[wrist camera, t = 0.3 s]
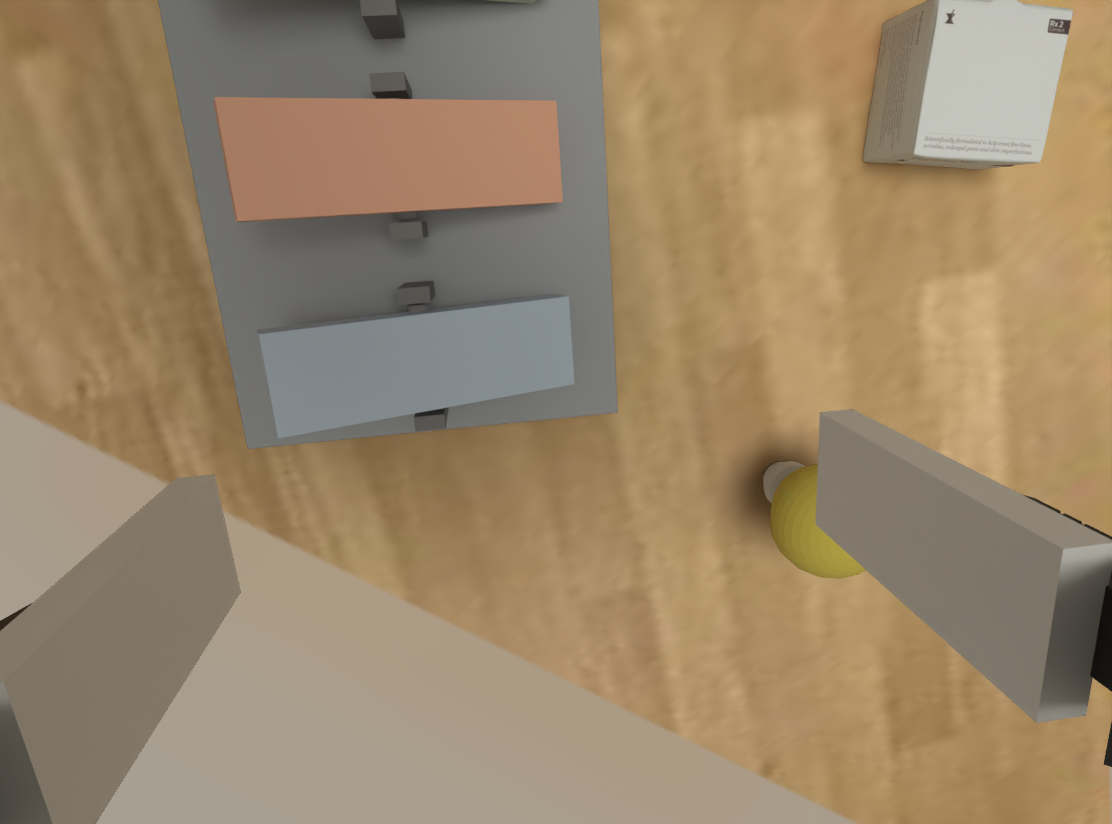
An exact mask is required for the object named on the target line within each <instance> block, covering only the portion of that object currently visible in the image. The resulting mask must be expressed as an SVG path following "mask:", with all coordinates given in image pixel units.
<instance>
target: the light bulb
mask: <svg viewBox="0 0 1112 824" xmlns="http://www.w3.org/2000/svg"><path fill="white" fill-rule="evenodd" d="M817 473H818V464H815V465H811V466H806V467H805V466H804V465H802V464H800V463H798V462H793V461H787V462H777V463H774V464H772V465H771V466H770V467H769V468H768V469H767V470H766V471H765V473H764V476H763V485H764V493H765V495H766V497H767V499H768V500H769V501H770V502H771V503H772V505H771V515H770V523H771V532H772V537H773V539H774V541H775V543H776V545H777V547H778V548H779V550H780V552H781V553H782V554H783V555H784V556H785V557H786V558H787V559H788V560H790V561H791V562H792V563H793V564H794V565H795V566H796V567H798V568H799V569H801V570H803V571H806V572H808V573H811V574H813V575H816V576H818V577H823V578H845V577H849V576H854V575H858V574H860V573H861V572H863V571H865V570H866V569H865V568H864V567H862V566H861V565H860V564H859V563H858V562H857V561H856V560H855V559H853V558H852V557H851V556H850V555H849V554H848V553H847V552H846V551H845V550H843V549H842V548H841V547H840V546H839V545H838V544H837V543H836V542H835V541H833V540H832V539H831V538H830V537H829V536H828V535H827V534H826V533H825V532H823V531H822V530H821V529H820V528H819V527H818V526H817V525H816V524H815V523H816V498H817Z"/></svg>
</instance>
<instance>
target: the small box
mask: <svg viewBox="0 0 1112 824" xmlns="http://www.w3.org/2000/svg"><path fill="white" fill-rule="evenodd" d="M1072 15H1073V11H1072V10H1071V9H1067V8H1060V7H1051V6H1042V5H1032V4H1024V3H1021V2H1019V1H1017V0H927V1H925V2H923V3H921V4H919V5H917V6H915V7H913V8H911V9H909V10H907V11H906V12H904V13H902V14H900V15H898V16H896V17H894V18H892V19H890V20H888V21H886V22H884V23H883V27H882V36H881V44H880V51H879V57H878V63H877V69H876V75H875V82H874V88H873V95H872V101H871V107H870V113H869V120H868V126H867V133H866V140H865V146H864V152H863V161H864V162H875V163H894V164H910V165H924V166H941V167H954V168H965V169H974V170H980V169H988V168H997V167H1005V166H1014V165H1021V164H1031V163H1039V162H1040V161H1041V158H1042V154H1043V150H1044V146H1045V141H1046V137H1047V133H1048V128H1049V123H1050V118H1051V113H1052V108H1053V103H1054V98H1055V94H1056V89H1057V84H1058V79H1059V75H1060V70H1061V65H1062V61H1063V57H1064V52H1065V48H1066V43H1067V38H1068V34H1069V29H1070V23H1071V19H1072Z"/></svg>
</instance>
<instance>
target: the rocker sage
mask: <svg viewBox="0 0 1112 824" xmlns="http://www.w3.org/2000/svg"><path fill="white" fill-rule="evenodd" d="M488 1H501V2H514V3H528V4H533V3H534V2H536V1H537V0H488Z"/></svg>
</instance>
